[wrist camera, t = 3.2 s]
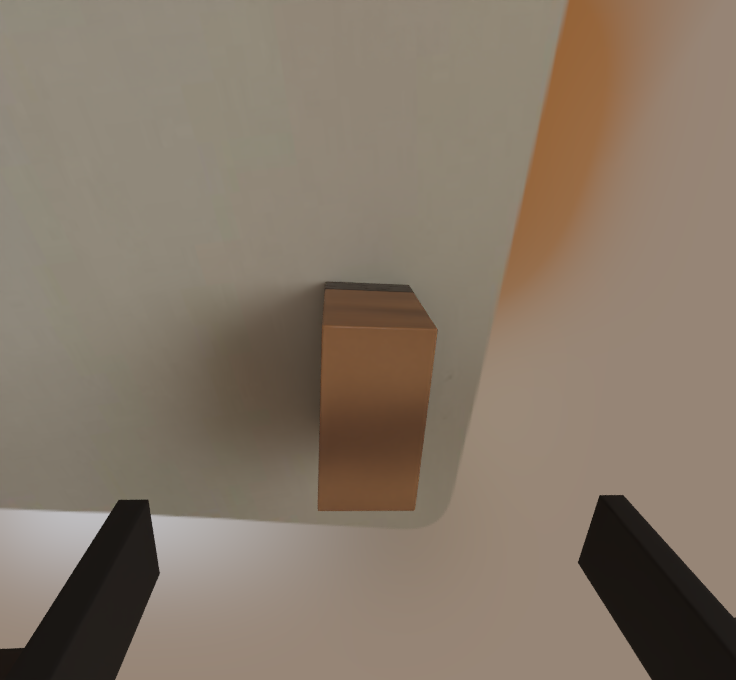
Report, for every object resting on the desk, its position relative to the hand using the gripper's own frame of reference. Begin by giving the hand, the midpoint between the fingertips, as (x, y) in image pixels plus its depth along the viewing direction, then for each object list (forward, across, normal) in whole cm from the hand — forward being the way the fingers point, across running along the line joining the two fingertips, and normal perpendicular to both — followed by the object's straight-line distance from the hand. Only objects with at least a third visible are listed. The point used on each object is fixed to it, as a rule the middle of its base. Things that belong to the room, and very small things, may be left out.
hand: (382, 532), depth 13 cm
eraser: (+13, 0, 0) cm, 13 cm away
